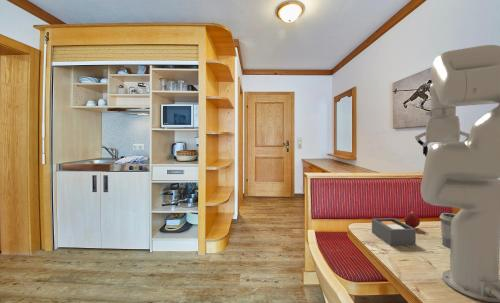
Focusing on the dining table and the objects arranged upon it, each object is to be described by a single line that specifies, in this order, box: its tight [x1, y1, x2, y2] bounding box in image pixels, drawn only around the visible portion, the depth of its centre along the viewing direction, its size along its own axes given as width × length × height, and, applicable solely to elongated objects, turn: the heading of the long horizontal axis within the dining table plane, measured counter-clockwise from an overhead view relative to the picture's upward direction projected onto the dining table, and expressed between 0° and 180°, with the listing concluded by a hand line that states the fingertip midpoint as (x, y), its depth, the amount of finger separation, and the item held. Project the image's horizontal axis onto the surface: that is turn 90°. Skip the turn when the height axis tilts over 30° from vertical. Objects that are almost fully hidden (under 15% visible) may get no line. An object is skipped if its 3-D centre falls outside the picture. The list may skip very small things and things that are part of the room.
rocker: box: [381, 221, 405, 229], centre depth 92 cm, size 8×5×1 cm, turn 2°
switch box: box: [371, 217, 417, 246], centre depth 92 cm, size 13×10×6 cm
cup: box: [439, 212, 457, 249], centre depth 85 cm, size 7×7×12 cm
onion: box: [403, 211, 421, 229], centre depth 102 cm, size 6×6×8 cm
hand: (441, 156), depth 88 cm, fingers open, 9 cm apart
